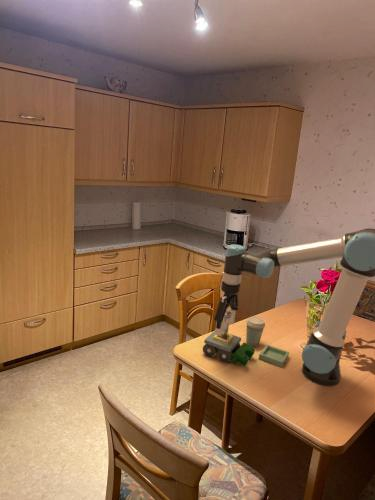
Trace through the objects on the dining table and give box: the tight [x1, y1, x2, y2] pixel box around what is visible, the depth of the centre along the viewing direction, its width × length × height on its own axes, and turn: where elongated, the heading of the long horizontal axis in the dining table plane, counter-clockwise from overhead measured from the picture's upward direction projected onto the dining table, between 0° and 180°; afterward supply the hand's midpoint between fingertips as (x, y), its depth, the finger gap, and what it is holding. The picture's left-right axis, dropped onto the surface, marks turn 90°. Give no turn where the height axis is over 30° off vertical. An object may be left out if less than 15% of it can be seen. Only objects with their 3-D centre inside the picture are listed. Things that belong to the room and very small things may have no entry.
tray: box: [258, 344, 290, 368], centre depth 163 cm, size 10×10×2 cm
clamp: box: [229, 341, 256, 367], centre depth 158 cm, size 12×6×9 cm, turn 144°
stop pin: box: [220, 310, 232, 340], centre depth 158 cm, size 4×4×12 cm
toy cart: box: [202, 330, 242, 364], centre depth 161 cm, size 13×12×9 cm
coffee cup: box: [245, 316, 266, 348], centre depth 172 cm, size 8×8×12 cm
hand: (224, 328), depth 159 cm, fingers open, 12 cm apart
